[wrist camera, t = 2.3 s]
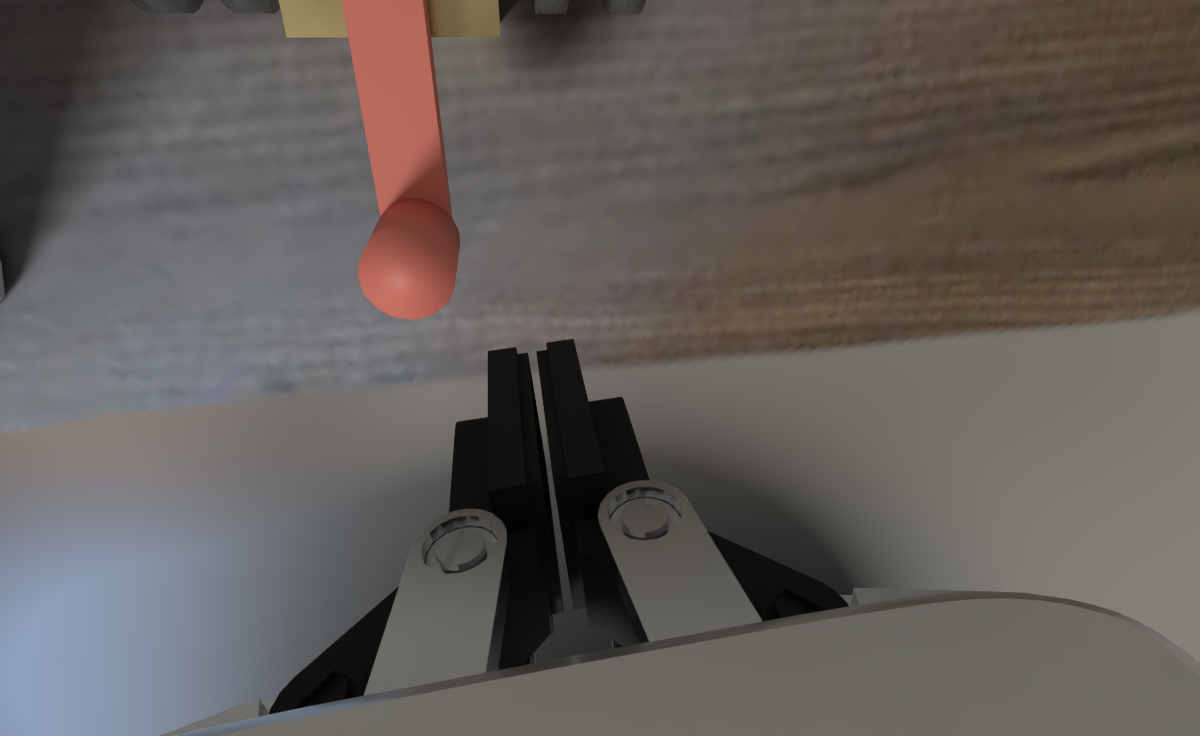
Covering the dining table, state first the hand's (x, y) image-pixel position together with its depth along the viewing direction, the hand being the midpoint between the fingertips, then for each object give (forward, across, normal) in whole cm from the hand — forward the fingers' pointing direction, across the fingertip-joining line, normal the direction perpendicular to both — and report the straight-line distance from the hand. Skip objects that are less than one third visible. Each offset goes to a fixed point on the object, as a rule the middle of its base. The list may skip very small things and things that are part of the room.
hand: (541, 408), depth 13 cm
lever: (+14, +3, -5) cm, 15 cm away
